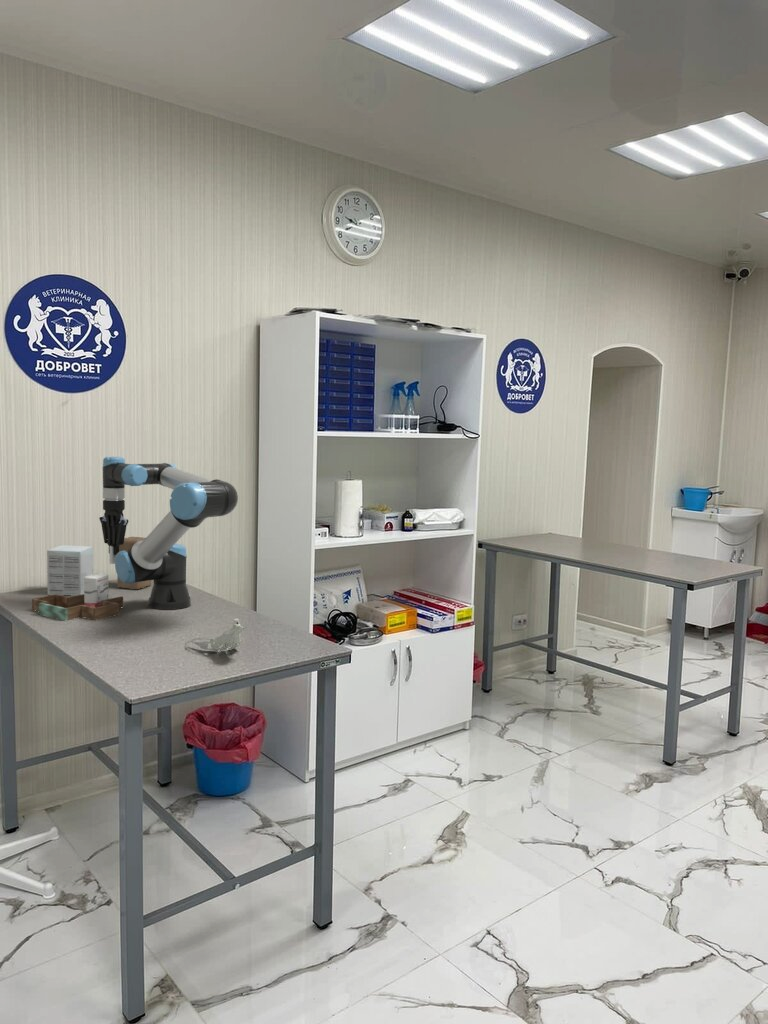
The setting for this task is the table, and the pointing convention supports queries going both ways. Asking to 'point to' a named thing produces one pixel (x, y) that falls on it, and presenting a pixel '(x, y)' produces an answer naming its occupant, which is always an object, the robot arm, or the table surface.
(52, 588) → the supplement box
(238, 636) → the bird figurine
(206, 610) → the table surface
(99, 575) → the ink box
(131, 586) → the block
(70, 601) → the brown wooden tray
